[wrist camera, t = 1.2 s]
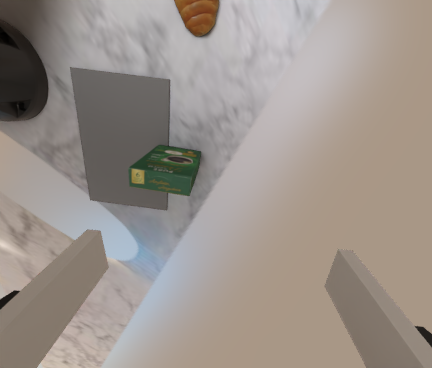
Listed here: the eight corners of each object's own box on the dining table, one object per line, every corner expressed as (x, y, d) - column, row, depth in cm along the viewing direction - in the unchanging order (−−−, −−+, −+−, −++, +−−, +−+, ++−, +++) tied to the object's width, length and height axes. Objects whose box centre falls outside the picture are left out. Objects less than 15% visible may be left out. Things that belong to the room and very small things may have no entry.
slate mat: (91, 199, 42) (90, 200, 41) (71, 67, 32) (70, 67, 32) (167, 209, 41) (166, 210, 41) (169, 79, 32) (169, 79, 32)
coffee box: (155, 158, 37) (126, 188, 25) (156, 143, 36) (126, 166, 24) (199, 165, 37) (191, 198, 25) (201, 150, 36) (194, 177, 24)
